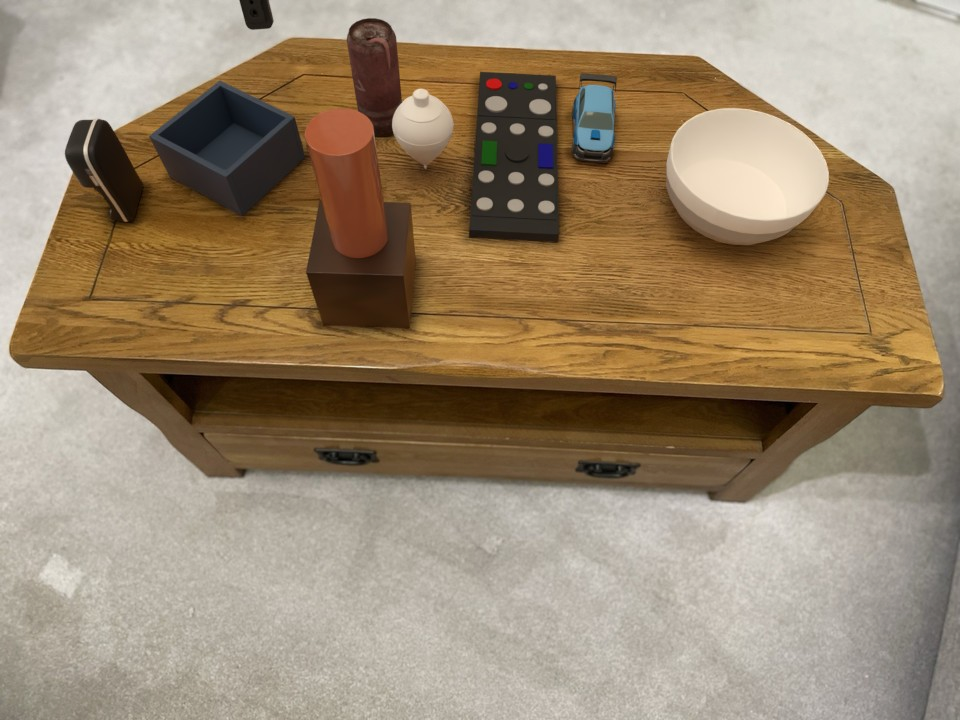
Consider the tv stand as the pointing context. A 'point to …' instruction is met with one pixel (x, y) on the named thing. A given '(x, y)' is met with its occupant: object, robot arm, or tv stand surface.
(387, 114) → the can
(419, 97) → the spinning top
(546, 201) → the remote control
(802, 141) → the bowl
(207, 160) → the tub
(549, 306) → the tv stand surface
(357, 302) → the stand
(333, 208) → the orange cylinder rod
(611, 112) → the toy car
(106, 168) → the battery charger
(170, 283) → the tv stand surface
